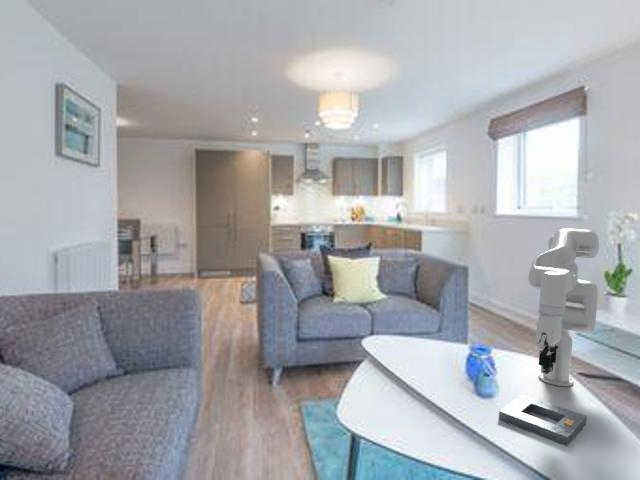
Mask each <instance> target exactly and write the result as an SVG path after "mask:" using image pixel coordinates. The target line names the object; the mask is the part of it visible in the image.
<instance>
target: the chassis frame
mask: <svg viewBox="0 0 640 480" xmlns="http://www.w3.org/2000/svg"><path fill="white" fill-rule="evenodd" d="M530 413H534V414H536V415H538V416H542V417H545V418H547V419H550V420H552V421H555V422H557V423H556V424H555V423H553V422H549V421H546V420H544V419H542V418H540V417H536V416H533V415H530ZM499 419H500V420H499ZM498 420H499V421H501V420H502V422H504V421H505V422H504V423H506V422H507V424H509V423H510V425H511V424H512V426H514V427H516V426H517V428H519V429H522V430H524V431H527V432H530V433H532V434H535V435H536V436H537V435H538V436H540V437H542V438H544V439H547V440H550V441H551V442H552V441H553V442H554V443H557V444H560V445H562V446H565V447H568V446H569V445H570V443H572V441H573V440H574V439H575V438H576V437H577V436H578V435H579V433H581V431H582V430H584V428H585V427H586V425H587V422H588V421H587V420H588V416H587V415H584V414H582V413H579V412H576V411H574V410H570V409H567V408H564V407H561V406H558V405H555V404H553V403H550V402H547V401H544V400H541V399H538V398H534V397H532V396H529V395H526V394H524V393H522V394H521V395H519V396H518V397H516V398H515V399H513V401H511V402H509V403H508V404H507V405H505V406H504V407H503V408H502V409H500V410H499V411H498Z"/></svg>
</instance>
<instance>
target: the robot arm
mask: <svg viewBox="0 0 640 480" xmlns="http://www.w3.org/2000/svg"><path fill="white" fill-rule="evenodd" d="M599 239H600V238H599V236H598V234H597V232H595V231H593V230H591V229H579V228H578V229H577V228H562V229H559V230H557V231H555V233H554V234H553V235H551V236H550V237H549V239H548V250H546V251H545V252H542V253H541V254H539V255H537V256H536V257H535V258H534V259H533V260H532V263H531V266H530V269H529V271H528V278H527V279H528V283H529V285H530V287H532V288H534V289H539V290H540V291H539V302H538V314H539V315H538V319H537V323H536V325H537V326H536V333H535V344H536V345H537V344H539V345H538V349H539V351H538V352H539V354H538V355H539V356H538V365H539V366H540V367H541V366H544V367H550V357H551V358H552V359H551V361H552V363H553V371H552V373H550V372H549V373H548V374H542V373H541V371H539V373H538V378H539V379H540V380H541V381H542V382H544V383H546V384H549V385H552V386H557V387H571V386H573V385H574V380H573V378H572V377H571V376H570V371H571V363H572V351H573V338H572V336H571V335H570V333H569V332H568V331H574V332H581V333H584V334H585V333H588V334H589V333H592V332H593V331H594V330H595V327H596V322H597V312H598V311H597V310H598V309H597V308H598V299H599V290H598V286H597V284H596V282H594V281H590V280H584V279H578V274H579V273H578V272H579V266H578V264H577V262H576V261H575V260H576V258H584V259H585V258H586V259H593V258H595V257H597V255H598V254H599V250H600V241H599ZM566 303H571V304H578V305H579V304H580V305H582V306H583V307H579V306H573V305H567V304H566ZM545 343H547V344H548V345H545ZM553 345H557V346H558V349H557V351H556V352H554V353H551V355H549V354H550V348H551V346H553ZM545 347H548V349H546V348H545Z"/></svg>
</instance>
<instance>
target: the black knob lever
mask: <svg viewBox="0 0 640 480" xmlns="http://www.w3.org/2000/svg"><path fill="white" fill-rule="evenodd" d="M545 345H548V344H547V343H545ZM545 348H546V349H548V347H545ZM557 349H558V346H557V345H553V346H551V348H550V354H549V355H551V353H554V352H556V351H557ZM551 359H552V358H551V357H550V367H544V366H541V365H540V372H541V373H542V374H548V373H549V372H550V373H552V371H553V363H552V361H551Z"/></svg>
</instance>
